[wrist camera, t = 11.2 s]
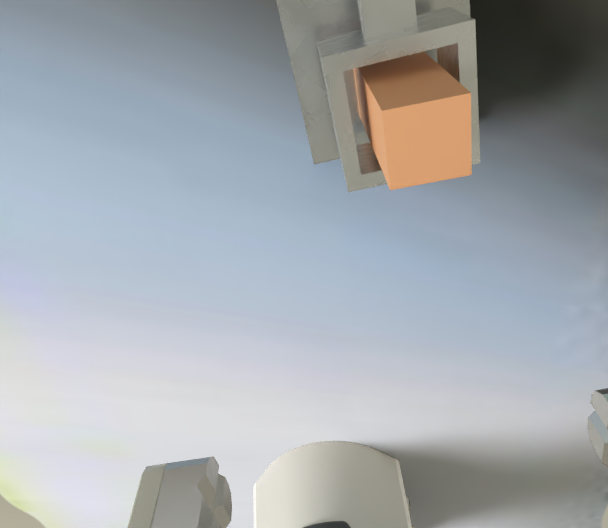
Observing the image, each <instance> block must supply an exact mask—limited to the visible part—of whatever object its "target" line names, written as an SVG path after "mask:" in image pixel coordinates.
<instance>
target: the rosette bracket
mask: <svg viewBox="0 0 608 528" xmlns="http://www.w3.org/2000/svg"><path fill="white" fill-rule="evenodd" d="M276 1H277V6H278V10H279V14H280V19H281V23H282V27H283V32H284V36H285V40H286V45H287V49H288V53H289V57H290V62H291V66H292V70H293V75H294V79H295V83H296V88H297V92H298V96H299V101H300V105H301V109H302V114H303V118H304V122H305V127H306V131H307V135H308V140H309V144H310V148H311V152H312V157H313V161H314V164H318V163H322V162H327V161H331V160H335V159H340V161H341V165H342V169H343V173H344V177H345V181H346V185H347V189H348V192H352V191H356V190H361V189H365V188H370V187H374V186H379V185H383V184H387V181H386V179H385V176H384V174H383V171H382V169H381V167H380V164H379V162H378V159H377V157H376V155H375V152H374V150H373V147H372V145H371V143H370V140H369V138H368V135H367V133H366V131H365V128H364V126H363V123H362V121H361V118H360V114H359V106H358V98H357V91H356V83H355V75H354V68H358V67H362V66H366V65H370V64H375V63H379V62H383V61H387V60H391V59H395V58H399V57H403V56H407V55H411V54H415V53H419V52H423V51H424V52H425V53H426V54H428V55H429V56H430V57H431V58H432V59H433V60H434V61H435V62H437V63H438V64H439V65H440V66H441V67H442V68H443V69H445V70H446V71H447V72H448V73H449V74H450V75H451V76H452V77H454V78H455V79H456V80H457V81H458V82H459V83H460V84H462V85H463V86H464V87H465V88H466V89H467V90H468V91H469V92H471V156H472V165H473V164H477V163H480V140H479V112H478V83H477V55H476V27H475V19H474V18H472V17H470V0H276Z"/></svg>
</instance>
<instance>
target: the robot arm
mask: <svg viewBox="0 0 608 528" xmlns="http://www.w3.org/2000/svg"><path fill="white" fill-rule="evenodd" d="M591 404H592V406H593V408H594V409H595V411H594V412H593V413H592V414H591V415H590V416H589V418H588V431H589V436H590V441H591V443H592V445H593V448H594V450H595V452H596V454H597V455H598V457H599V459H600V461H601V462H602V463H603V464H605V465H607V466H608V388H607V389H601V390H596V391H594V393H593V394H592V397H591ZM218 469H219V465H218V463H217V461H216V459H215V458H214V457H207V458H200V459H193V460H187V461H180V462H173V463H166V464H160V465H154V466H148V467H146V469H145V470H144V472H143V473H142V475H141V479H140V483H139V487H138V490H137V494H136V498H135V502H134V506H133V509H132V513H131V517H130V521H129V525H128V528H226V527H227V526H228V524H229V523H230V521H231V514H232V501H231V492H230V488H229V484H228V482H227V480H226V478H225V477H224V476H222V475H220V474H218ZM409 511H410V502H409V499H408V497H407V496H406V494H405V489H404V484H403V479H402V474H401V469H400V464H399V460H396V459H395V458H392V457H390V456H388V455H386V454H384V453H382V452H380V451H378V450H375V449H373V448H370V447H368V446H365V445H361V444H357V443H352V442H345V441H323V442H316V443H311V444H306V445H303V446H300V447H297V448H294V449H292V450H290V451H288V452H286V453H284V454H283V455H281V456H280V457H278V458H277V459H276V460H275V461H273V462H272V463H271V464H270V465H269V466H268V467H267V469H266V470H265V471H264V473H263V474H262V476H261V477H260V478H259V479H258V481H257V482H256V484H254V528H415V527H414V526H413V525H412V524H411V519H410V514H409Z"/></svg>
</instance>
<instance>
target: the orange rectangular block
mask: <svg viewBox="0 0 608 528" xmlns="http://www.w3.org/2000/svg"><path fill="white" fill-rule="evenodd" d="M354 75H355V83H356V91H357V98H358V106H359V114H360V118H361V121H362V123H363V126H364V128H365V131H366V133H367V135H368V138H369V140H370V143H371V145H372V147H373V150H374V152H375V155H376V157H377V159H378V162H379V164H380V167H381V169H382V171H383V174H384V176H385V179H386V181H387V184H388V186H389V188H390V190H393V189H399V188H404V187H409V186H415V185H420V184H425V183H430V182H436V181H441V180H446V179H452V178H457V177H462V176H467V175H472V156H471V92H469V91H468V90H467V89H466V88H465V87H464V86H463V85H462V84H460V83H459V82H458V81H457V80H456V79H455V78H454V77H452V76H451V75H450V74H449V73H448V72H447V71H446V70H445V69H443V68H442V67H441V66H440V65H439V64H438V63H437V62H435V61H434V60H433V59H432V58H431V57H430V56H429V55H428V54H426V53H425V52H424V51H423V52H419V53H415V54H411V55H407V56H403V57H399V58H395V59H391V60H387V61H383V62H379V63H375V64H370V65H366V66H362V67H358V68H354Z"/></svg>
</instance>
